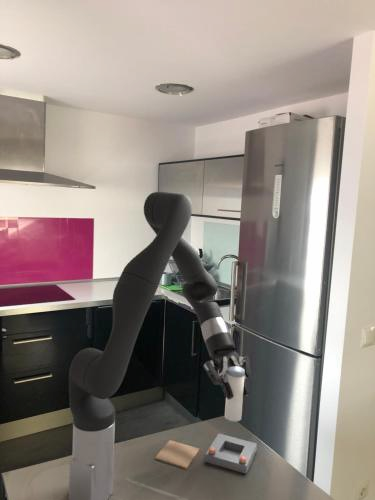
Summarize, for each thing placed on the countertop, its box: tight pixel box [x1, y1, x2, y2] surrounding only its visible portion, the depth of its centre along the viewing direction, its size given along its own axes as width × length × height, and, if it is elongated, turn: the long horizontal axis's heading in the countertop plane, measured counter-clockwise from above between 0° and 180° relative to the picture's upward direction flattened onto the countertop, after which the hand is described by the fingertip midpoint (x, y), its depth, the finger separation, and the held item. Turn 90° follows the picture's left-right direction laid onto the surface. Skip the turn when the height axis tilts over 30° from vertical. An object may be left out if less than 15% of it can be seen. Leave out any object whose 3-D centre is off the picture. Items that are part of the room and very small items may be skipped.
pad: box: [154, 439, 201, 470], centre depth 108 cm, size 9×9×1 cm
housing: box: [204, 433, 258, 475], centre depth 108 cm, size 11×11×4 cm
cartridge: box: [224, 366, 245, 422], centre depth 106 cm, size 4×4×13 cm
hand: (238, 396), depth 105 cm, fingers closed on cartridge, 4 cm apart
